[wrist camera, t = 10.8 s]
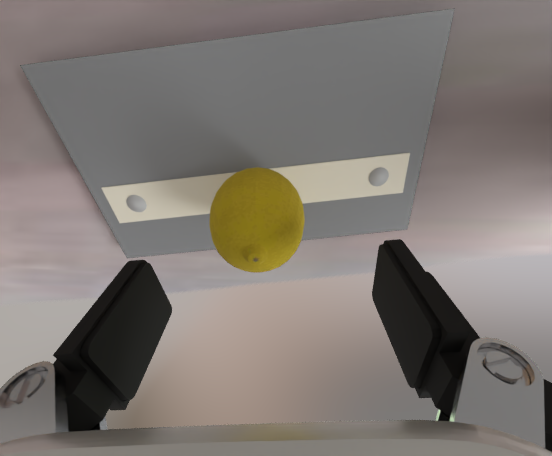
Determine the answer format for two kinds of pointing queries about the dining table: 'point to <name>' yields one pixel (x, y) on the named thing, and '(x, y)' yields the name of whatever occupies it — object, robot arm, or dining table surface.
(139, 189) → the strip
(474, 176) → the dining table surface
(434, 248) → the dining table surface
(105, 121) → the panel
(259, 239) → the lemon
